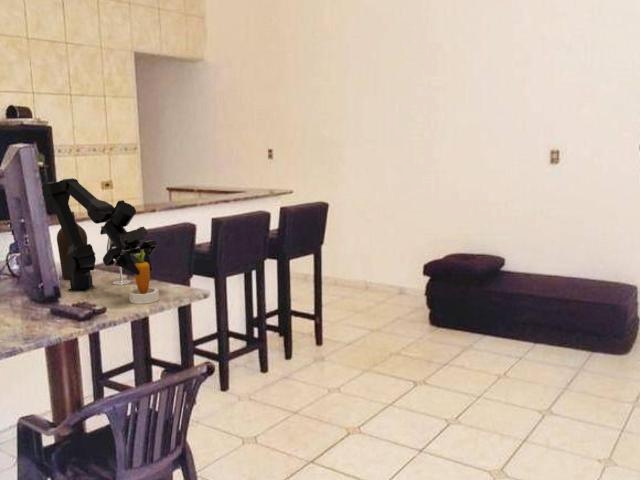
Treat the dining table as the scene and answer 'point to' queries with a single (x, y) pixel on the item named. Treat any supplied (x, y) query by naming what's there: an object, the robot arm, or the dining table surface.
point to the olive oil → (64, 247)
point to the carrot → (142, 273)
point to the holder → (144, 296)
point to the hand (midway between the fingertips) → (144, 272)
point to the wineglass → (119, 267)
